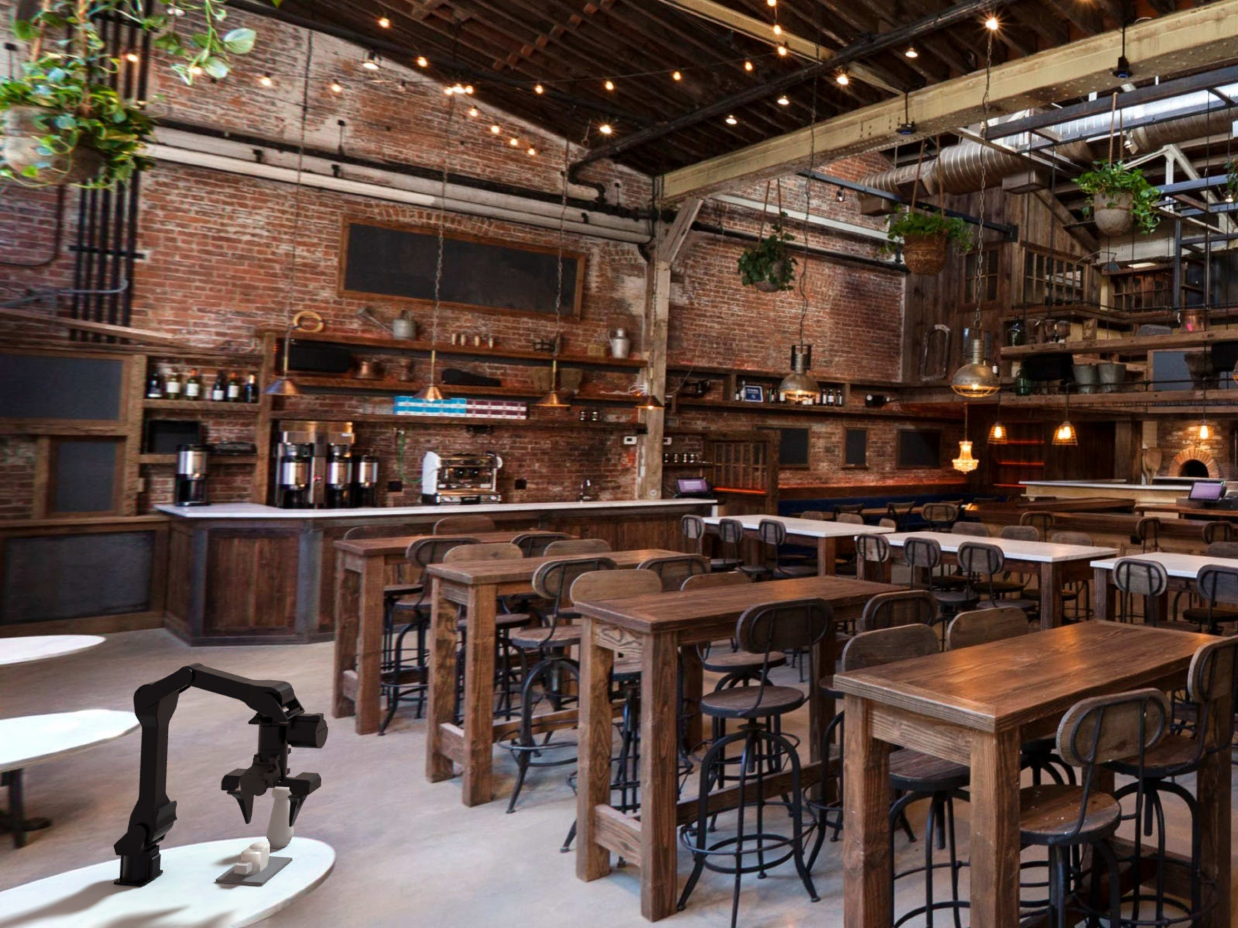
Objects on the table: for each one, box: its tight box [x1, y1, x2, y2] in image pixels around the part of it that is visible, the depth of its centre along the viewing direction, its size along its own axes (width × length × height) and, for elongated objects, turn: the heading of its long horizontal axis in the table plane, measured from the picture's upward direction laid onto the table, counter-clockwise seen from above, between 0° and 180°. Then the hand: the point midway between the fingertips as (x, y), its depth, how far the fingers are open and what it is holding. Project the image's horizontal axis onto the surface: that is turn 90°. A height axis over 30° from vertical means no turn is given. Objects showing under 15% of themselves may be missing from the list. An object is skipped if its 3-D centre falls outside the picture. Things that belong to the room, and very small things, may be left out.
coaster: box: [215, 855, 293, 886], centre depth 171 cm, size 10×12×1 cm
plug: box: [234, 841, 271, 876], centre depth 170 cm, size 9×4×4 cm, turn 173°
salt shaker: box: [265, 787, 295, 849], centre depth 185 cm, size 6×6×13 cm
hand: (269, 824), depth 165 cm, fingers open, 9 cm apart
